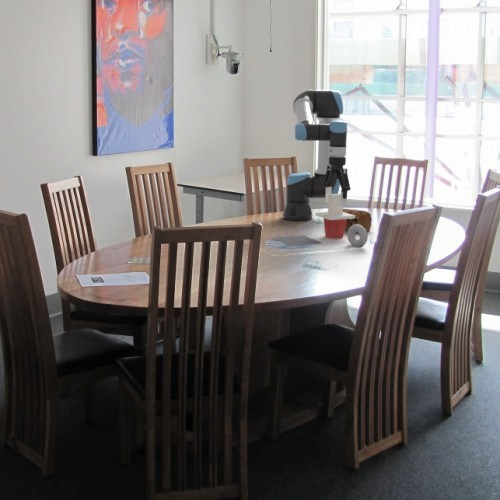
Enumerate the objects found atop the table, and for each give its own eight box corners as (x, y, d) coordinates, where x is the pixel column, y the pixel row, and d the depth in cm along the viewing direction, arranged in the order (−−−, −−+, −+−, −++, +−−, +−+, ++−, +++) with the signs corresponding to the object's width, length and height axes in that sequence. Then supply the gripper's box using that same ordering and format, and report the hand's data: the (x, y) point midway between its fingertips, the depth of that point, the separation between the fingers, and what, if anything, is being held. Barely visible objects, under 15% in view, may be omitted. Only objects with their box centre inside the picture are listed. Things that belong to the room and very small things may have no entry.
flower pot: (346, 235, 371) (346, 215, 369) (346, 240, 361) (347, 219, 358) (322, 235, 372) (323, 214, 370) (322, 239, 362) (323, 218, 359)
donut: (345, 246, 349) (345, 223, 347) (349, 244, 352) (350, 222, 350) (364, 249, 343) (365, 226, 341) (368, 248, 345) (369, 225, 343)
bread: (371, 231, 383) (372, 210, 381) (355, 234, 376) (356, 213, 374) (343, 225, 397) (344, 205, 395) (328, 227, 391) (328, 207, 388)
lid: (315, 215, 367) (316, 193, 365) (340, 213, 373) (341, 191, 371) (329, 220, 356) (330, 197, 354) (355, 218, 361) (356, 195, 359)
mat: (272, 239, 361) (272, 237, 361) (303, 236, 368) (303, 235, 368) (290, 247, 345) (290, 245, 345) (323, 244, 352) (323, 243, 352)
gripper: (316, 153, 368) (315, 199, 373) (344, 159, 346) (342, 208, 350) (330, 153, 371) (329, 199, 376) (359, 158, 349) (357, 207, 353)
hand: (335, 203), depth 363 cm, fingers open, 13 cm apart
